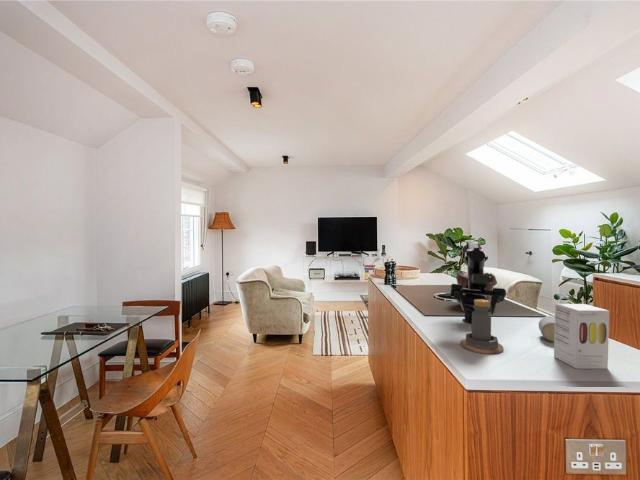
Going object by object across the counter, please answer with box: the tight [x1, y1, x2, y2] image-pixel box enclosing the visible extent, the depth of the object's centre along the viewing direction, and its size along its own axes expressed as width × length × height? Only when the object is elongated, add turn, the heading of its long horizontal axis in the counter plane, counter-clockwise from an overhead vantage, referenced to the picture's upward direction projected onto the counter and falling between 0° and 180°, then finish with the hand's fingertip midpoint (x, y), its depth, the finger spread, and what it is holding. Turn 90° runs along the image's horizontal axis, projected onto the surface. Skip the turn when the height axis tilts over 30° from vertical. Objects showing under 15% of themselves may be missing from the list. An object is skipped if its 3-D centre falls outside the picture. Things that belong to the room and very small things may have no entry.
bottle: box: [471, 299, 492, 341], centre depth 111 cm, size 6×6×15 cm
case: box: [455, 269, 498, 306], centre depth 173 cm, size 18×20×18 cm
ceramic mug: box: [538, 315, 555, 343], centre depth 118 cm, size 11×8×8 cm
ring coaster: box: [460, 332, 504, 355], centre depth 112 cm, size 13×13×3 cm
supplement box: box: [553, 303, 610, 370], centre depth 98 cm, size 10×9×17 cm
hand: (478, 312), depth 120 cm, fingers open, 9 cm apart
